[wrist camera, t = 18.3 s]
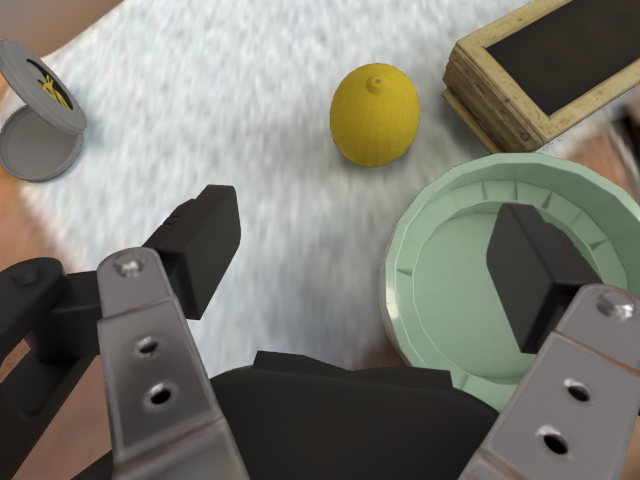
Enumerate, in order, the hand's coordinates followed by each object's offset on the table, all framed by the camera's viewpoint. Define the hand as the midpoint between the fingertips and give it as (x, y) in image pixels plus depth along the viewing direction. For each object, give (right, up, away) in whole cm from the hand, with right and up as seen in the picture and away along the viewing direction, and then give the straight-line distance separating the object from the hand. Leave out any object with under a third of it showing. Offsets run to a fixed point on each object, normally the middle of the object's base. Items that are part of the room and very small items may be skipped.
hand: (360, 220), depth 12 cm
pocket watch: (-22, +7, +18) cm, 29 cm away
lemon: (+2, +6, +16) cm, 17 cm away
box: (+18, +12, +16) cm, 27 cm away
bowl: (+10, -4, +13) cm, 17 cm away
